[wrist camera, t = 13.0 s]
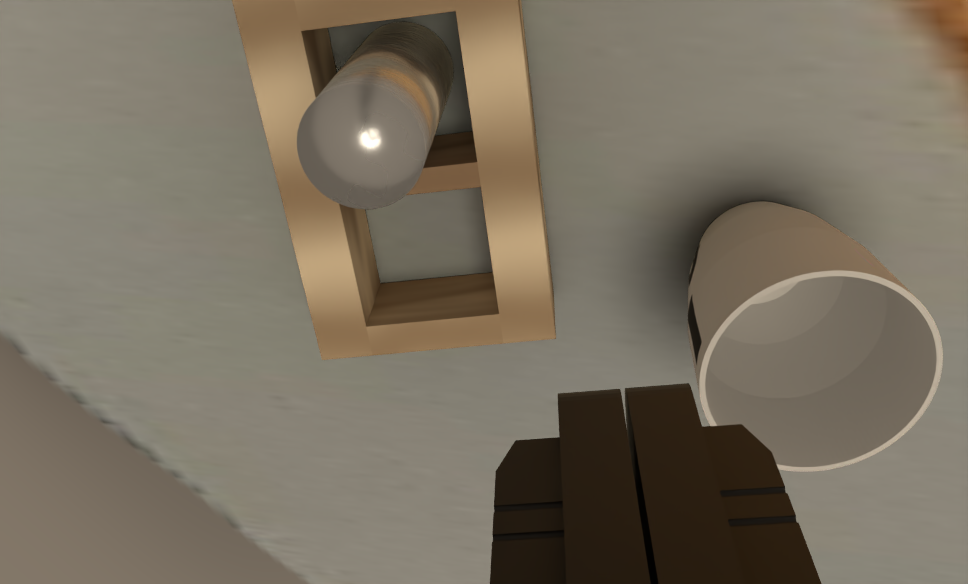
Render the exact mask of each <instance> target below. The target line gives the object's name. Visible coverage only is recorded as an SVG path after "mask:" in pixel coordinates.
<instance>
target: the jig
mask: <svg viewBox="0 0 968 584" xmlns="http://www.w3.org/2000/svg"><path fill="white" fill-rule="evenodd" d="M232 2H233V6H234V10H235V14H236V18H237V22H238V26H239V30H240V34H241V38H242V42H243V46H244V50H245V54H246V58H247V62H248V66H249V70H250V74H251V78H252V82H253V86H254V90H255V94H256V98H257V102H258V106H259V110H260V114H261V118H262V122H263V126H264V130H265V134H266V138H267V142H268V146H269V150H270V154H271V158H272V162H273V166H274V170H275V174H276V178H277V182H278V186H279V190H280V194H281V198H282V202H283V206H284V210H285V214H286V218H287V222H288V226H289V230H290V234H291V238H292V242H293V246H294V250H295V254H296V258H297V262H298V266H299V270H300V274H301V278H302V282H303V286H304V290H305V294H306V298H307V302H308V306H309V309H310V313H311V317H312V321H313V325H314V329H315V333H316V337H317V341H318V345H319V349H320V353H321V357H322V360H327V359H338V358H349V357H360V356H371V355H382V354H393V353H404V352H414V351H425V350H436V349H447V348H458V347H469V346H480V345H491V344H502V343H513V342H523V341H534V340H545V339H556V331H555V310H554V292H553V283H552V274H551V265H550V256H549V247H548V238H547V229H546V220H545V211H544V202H543V193H542V184H541V175H540V166H539V157H538V148H537V139H536V130H535V121H534V112H533V103H532V94H531V85H530V76H529V67H528V58H527V49H526V40H525V31H524V22H523V13H522V4H521V0H232ZM452 11H456V17H457V24H458V31H459V37H460V44H461V51H462V58H463V65H464V72H465V79H466V86H467V93H468V100H469V107H470V114H471V121H472V128H473V132H464V133H455V134H447V135H438V136H434V139H433V142H432V144H431V147H430V150H429V153H428V156H427V158H426V161H425V164H424V167H423V170H422V172H421V175H420V177H419V179H418V181H417V182H416V184H415V185H414V187H413V188H412V189H411V190H410V191H409V192H408V193H407V194H406V195H411V194H420V193H430V192H439V191H448V190H457V189H466V188H475V187H481V191H482V198H483V205H484V212H485V219H486V226H487V233H488V240H489V247H490V254H491V261H492V268H493V272H492V273H482V274H472V275H462V276H452V277H442V278H432V279H422V280H412V281H402V282H392V283H382V284H380V280H379V275H378V270H377V265H376V260H375V255H374V251H373V246H372V241H371V236H370V231H369V227H368V222H367V217H366V212H365V209H356V208H351V207H347V206H344V205H341V204H339V203H337V202H335V201H332V200H331V199H329V198H328V197H326V196H325V195H324V194H322V193H321V192H320V191H319V190H318V189H317V188H316V187H315V186H314V185H313V184H312V183H311V181H310V180H309V179H308V177H307V176H306V174H305V172H304V170H303V168H302V166H301V164H300V160H299V157H298V152H297V132H298V128H299V124H300V121H301V119H302V116H303V115H304V113H305V111H306V110H307V108H308V107H309V106H310V105H311V103H312V102H313V101H314V100H315V99H316V97H317V96H318V95H319V94H320V93H321V92H322V90H323V89H324V88H325V87H326V86H327V84H328V83H329V82H330V81H331V80H332V79H333V77H334V76H335V75H336V74H337V72H336V67H335V63H334V58H333V53H332V48H331V43H330V38H329V34H328V29H327V28H329V27H336V26H344V25H352V24H359V23H367V22H375V21H382V20H390V19H398V18H405V17H413V16H421V15H429V14H436V13H444V12H452Z"/></svg>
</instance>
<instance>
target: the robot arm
mask: <svg viewBox="0 0 968 584" xmlns="http://www.w3.org/2000/svg"><path fill="white" fill-rule="evenodd" d="M625 407H626V422H625V416H624V409H623V403H622V396H621V391H620V389H612V390H599V391H586V392H573V393H560V394H558V412H559V434H560V437H558V438H544V439H530V440H516V441H515V442H514V444H513V445H512V447H511V449H510V450H509V452H508V453H507V455H506V456H505V458H504V459H503V461H502V463H501V464H500V466H499V467H498V469H497V470H496V479H495V498H494V510H495V512H494V517H493V542H492V556H491V575H490V584H821V581H820V579H819V576H818V573H817V571H816V568H815V565H814V563H813V560H812V557H811V555H810V552H809V549H808V547H807V544H806V541H805V539H804V536H803V534H802V531H801V528H800V526H799V523H797V522H796V515H795V512H794V510H793V507H792V504H791V502H790V499H789V496H788V494H787V493H785V486H784V483H783V480H782V478H781V475H780V472H779V470H778V467H777V464H776V462H775V459H774V456H773V454H772V452H771V451H770V450H769V449H768V448H767V447H766V446H765V445H764V444H763V443H762V442H761V441H759V440H758V439H757V438H756V437H755V436H754V435H753V434H752V433H751V432H750V431H749V430H748V429H746V428H745V427H744V426H743V425H742V424H735V425H721V426H707V427H702V425H701V422H700V418H699V415H698V411H697V407H696V404H695V400H694V397H693V393H692V390H691V387H690V385H689V383H687V384H674V385H661V386H648V387H635V388H625ZM626 423H627V428H626Z"/></svg>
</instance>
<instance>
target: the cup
mask: <svg viewBox="0 0 968 584" xmlns="http://www.w3.org/2000/svg"><path fill="white" fill-rule="evenodd" d="M688 336H689V342H690V347H691V352H692V357H693V362H694V368H695V373H696V378H697V383H698V388H699V393H700V399H701V403H702V407H703V410H704V413H705V415H706V418H707V420H708V422H709V423H710V425H711V426H721V425H735V424H742V425H743V426H744V427H745V428H746V429H748V430H749V431H750V432H751V433H752V434H753V435H754V436H755V437H756V438H757V439H758V440H759V441H761V442H762V443H763V444H764V445H765V446H766V447H767V448H768V449H769V450H770V451H771V452H772V454H773V456H774V459H775V462H776V464H777V467H778V469H781V470H788V471H821V470H828V469H834V468H838V467H843V466H846V465H849V464H853V463H856V462H858V461H861V460H863V459H866V458H868V457H870V456H872V455H874V454H876V453H878V452H880V451H881V450H883V449H885V448H886V447H888V446H889V445H891V444H892V443H894V442H895V441H896V440H898V439H899V438H900V437H901V436H903V435H904V434H905V433H906V432H907V431H908V430H909V429H910V428H911V427H912V426H913V425H914V424H915V423H916V422H917V421H918V419H919V418H920V417H921V416H922V414H923V413H924V412H925V410H926V409H927V407H928V405H929V404H930V402H931V400H932V398H933V396H934V394H935V392H936V389H937V387H938V384H939V380H940V376H941V371H942V364H943V351H942V343H941V338H940V334H939V331H938V329H937V326H936V324H935V322H934V320H933V318H932V316H931V315H930V313H929V312H928V311H927V309H926V308H925V307H924V306H923V304H922V303H921V302H920V301H919V300H918V299H917V298H916V297H915V296H914V295H913V294H912V293H911V292H910V291H909V290H908V289H907V288H906V287H905V286H904V285H903V284H902V283H901V282H900V281H899V280H898V279H897V278H896V277H895V276H894V275H893V274H892V273H891V272H889V271H888V270H887V269H886V268H885V267H884V266H883V265H882V264H881V263H880V262H879V261H878V260H877V259H876V258H875V257H874V256H873V255H872V254H871V253H870V252H869V251H868V250H867V249H866V248H865V247H863V246H862V245H861V244H859V243H858V242H856V241H855V240H853V239H851V238H850V237H848V236H847V235H845V234H844V233H842V232H841V231H839V230H838V229H836V228H835V227H833V226H832V225H830V224H828V223H827V222H825V221H824V220H822V219H821V218H819V217H817V216H816V215H814V214H811V213H809V212H807V211H804V210H800V209H796V208H793V207H789V206H785V205H782V204H778V203H774V202H766V201H757V202H749V203H745V204H741V205H738V206H736V207H733V208H731V209H729V210H728V211H726V212H724V213H723V214H721V215H720V216H719V217H718V218H716V219H715V220H714V221H713V222H712V223H711V224H710V226H709V227H708V228H707V230H706V231H705V233H704V234H703V236H702V238H701V240H700V243H699V246H698V249H697V252H696V254H695V257H694V260H693V263H692V266H691V269H690V274H689V281H688Z"/></svg>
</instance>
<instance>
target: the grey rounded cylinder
mask: <svg viewBox="0 0 968 584" xmlns="http://www.w3.org/2000/svg"><path fill="white" fill-rule="evenodd" d="M453 79H454V68H453V62H452V58H451V56H450V53H449V51H448V49H447V47H446V46H445V44H444V43H443V41H442V40H441V39H440V38H439V37H438V36H437V35H436V34H435V33H434V32H432V31H431V30H429V29H428V28H426V27H424V26H422V25H419V24H416V23H412V22H393V23H389V24H386V25H383V26H381V27H379V28H378V29H376V30H375V31H373V32H372V33H371V34H370V35H369V36H368V37H367V38H366V40H365V41H364V42H363V43H362V44H361V45H360V47H359V48H358V49H357V50H356V51H355V53H354V54H353V55H352V56H351V57H350V58H349V60H348V61H347V62H346V63H345V64H344V66H343V67H342V68H341V69H340V70H339V71H338V73H337V74H336V75H335V76H334V77H333V79H332V80H331V81H330V82H329V83H328V84H327V86H326V87H325V88H324V89H323V90H322V92H321V93H320V94H319V95H318V96H317V97H316V99H315V100H314V101H313V102H312V103H311V105H310V106H309V107H308V108H307V110H306V111H305V113H304V115H303V116H302V119H301V121H300V124H299V128H298V132H297V152H298V157H299V160H300V164H301V166H302V168H303V170H304V172H305V174H306V176H307V177H308V179H309V180H310V181H311V183H312V184H313V185H314V186H315V187H316V188H317V189H318V190H319V191H320V192H321V193H322V194H324V195H325V196H326V197H328V198H329V199H331V200H332V201H335V202H337V203H339V204H341V205H344V206H347V207H351V208H356V209H376V208H381V207H385V206H388V205H390V204H392V203H395V202H396V201H398V200H400V199H401V198H403V197H404V196H405V195H406V194H407V193H408V192H409V191H410V190H411V189H412V188H413V187H414V185H415V184H416V182H417V181H418V179H419V177H420V175H421V172H422V170H423V167H424V164H425V161H426V158H427V156H428V153H429V150H430V147H431V144H432V142H433V139H434V136H435V133H436V130H437V127H438V125H439V122H440V119H441V116H442V113H443V111H444V108H445V105H446V102H447V99H448V97H449V94H450V91H451V88H452V84H453Z"/></svg>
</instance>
